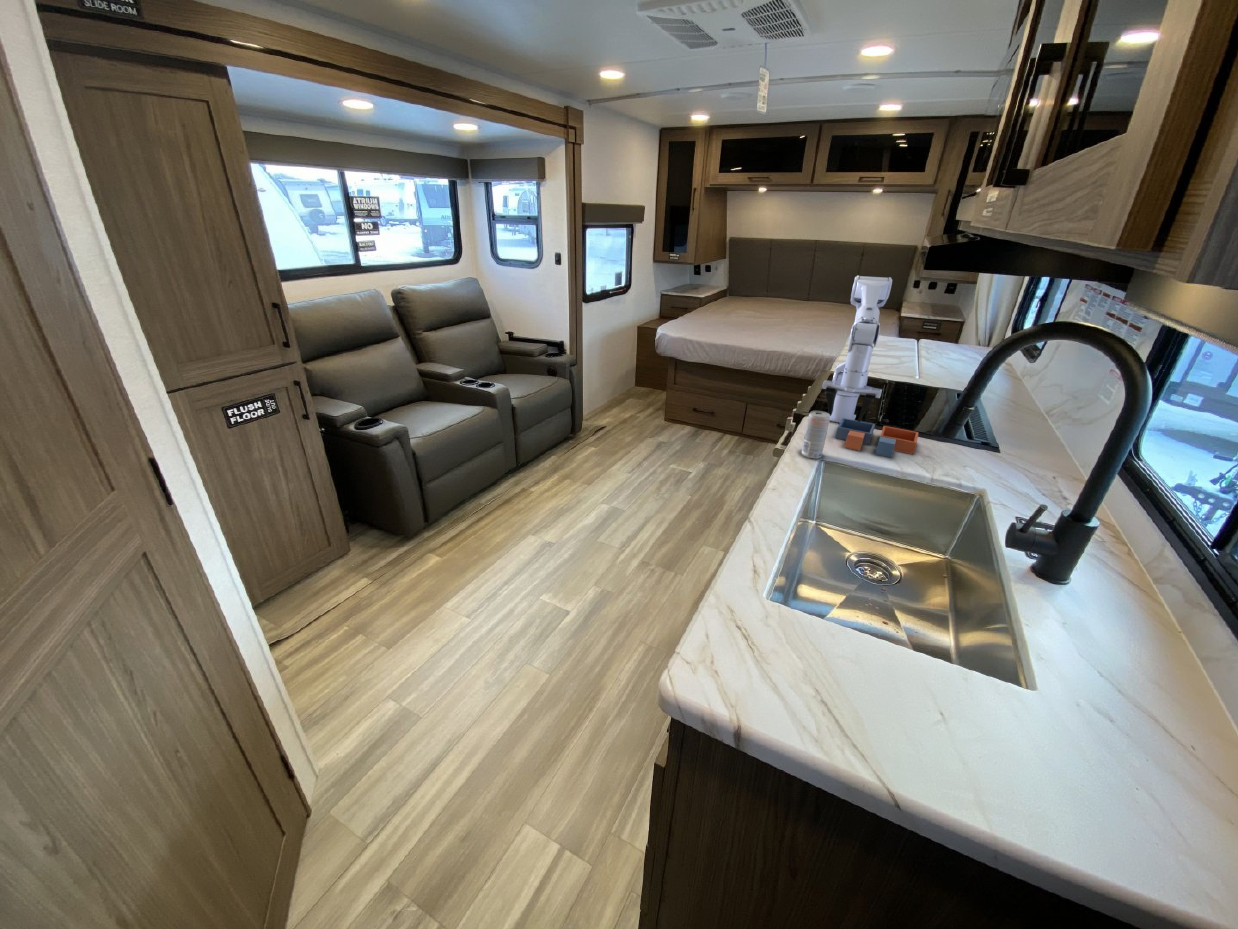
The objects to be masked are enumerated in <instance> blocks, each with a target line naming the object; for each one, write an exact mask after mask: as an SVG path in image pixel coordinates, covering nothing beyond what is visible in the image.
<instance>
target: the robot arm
mask: <svg viewBox="0 0 1238 929" xmlns="http://www.w3.org/2000/svg"><path fill="white" fill-rule="evenodd" d="M892 285H893V279H892V277H891V276H889V277H883V276H881V277H880V276H864V275H863V276H862V275H856V276H855V277H854V281H853V285H852V290H851V294H850V305H852V306H854V307H855V308H856V312H855V317H854V322H853V324H852V326H851V329H850V334H849V338H848V347H847V356H846V360H845V361H844V362H842V363H840V364H838V365H837V366H836V367H835V369H834V373H833V377H832V380H824V381H823V382H822V386H821V389H822V390H825V392H824V396H825V398H826V402H827V409H828V412H827V413H828V414H830V421H829V422H833V423H837V424H838V423H839V424H840V422H841V420H842V419H843V418H845V419H851V420H856V418H857V414H855V411H856V407H857V404H858V400H859V397H860V395H862V396H864V397H863V399H862V404H861V409H860V412H859V415H858V418H857V421H858V422H862V420H863V417H864V414H865V413H866V412H867V410H868V408H869V407H870V406H871V405H872V404H873V402H874V401H875V399H881V395H882V393H883V392H882V391H883V389H882V388H877V387H873V386H868V385H867V384H868V379H869V378H868V377H869V368H870V364H871V359H872V356H873V352H874V348H875V347H876V346H877V343H878V341H879V337H880V332H881V324H880V313H881V311H880V308H882V307H884V306H885V304H886V303H887V301H888V299H889V297H890V293H891V289H892Z"/></svg>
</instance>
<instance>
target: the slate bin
mask: <svg viewBox="0 0 1238 929" xmlns="http://www.w3.org/2000/svg"><path fill="white" fill-rule="evenodd" d="M875 426H876V423H871V422H866V421H861V422H858V420H856V419H854V420H851V419H845V418H843V419H842V420H841V422H840V423H839V424H838V426H837V428H836V433H835V437H834V439H837V440H844V441H846V440H847V436H848V433H849V431H850V430H851V431H856V432H861V433H865V435H864V439H863V443H862V445H868V446H869V445H870V442H871V440H872V438H873V434H874V431H875Z"/></svg>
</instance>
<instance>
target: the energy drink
mask: <svg viewBox="0 0 1238 929" xmlns="http://www.w3.org/2000/svg"><path fill="white" fill-rule="evenodd" d="M830 422H831V421H830V414H828V412H826V411H823V410H812V411H810V412H809V414H808V417H807V422H806V427H805V432H804V437H803V443H802V448H801V452H800V453H801V454H802V456H804V458H808V459H812V460H813V459H820V458H821V457H822V456H823V452H824V448H825V445H826V444H825V443H826V439H827V435H828V429H829V426H830Z"/></svg>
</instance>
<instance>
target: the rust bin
mask: <svg viewBox="0 0 1238 929" xmlns="http://www.w3.org/2000/svg"><path fill="white" fill-rule="evenodd" d="M880 436H881V437H886V438H891V439H896V442H895V446H894V449H893V451H896V452H901V453H905V454H909V455H910V454H911V455H914V453H915V450H916V448H917V444H918V437H919V432H918V431H914V430H909V429H902V428H898V427H893V426H892V427H891V426H888V425H883V427H882V430H881V432H880ZM880 436H879V437H880Z"/></svg>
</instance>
